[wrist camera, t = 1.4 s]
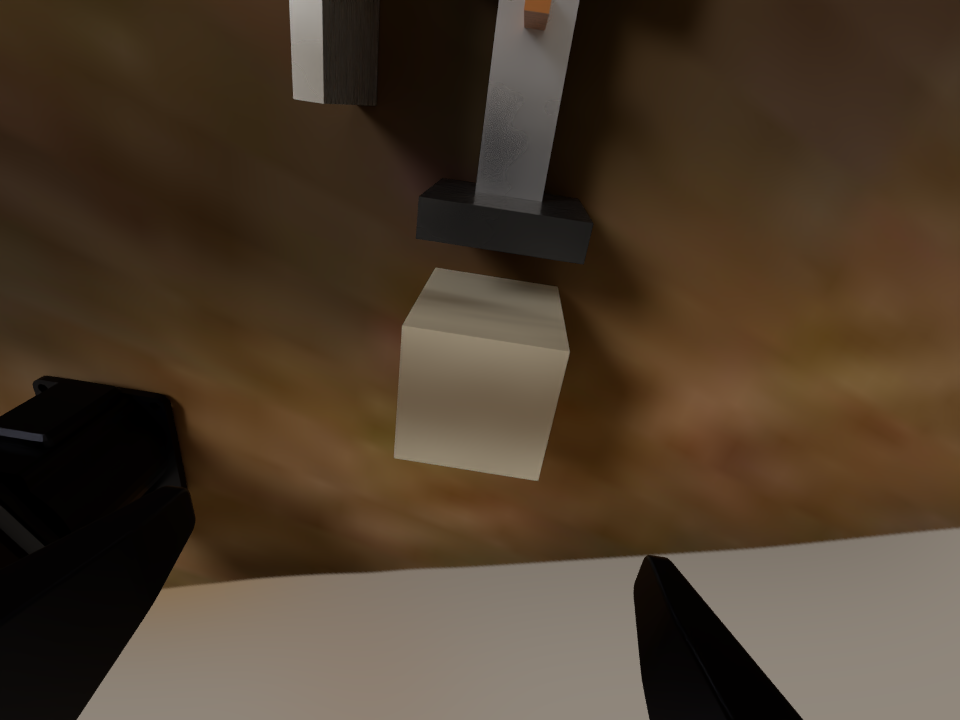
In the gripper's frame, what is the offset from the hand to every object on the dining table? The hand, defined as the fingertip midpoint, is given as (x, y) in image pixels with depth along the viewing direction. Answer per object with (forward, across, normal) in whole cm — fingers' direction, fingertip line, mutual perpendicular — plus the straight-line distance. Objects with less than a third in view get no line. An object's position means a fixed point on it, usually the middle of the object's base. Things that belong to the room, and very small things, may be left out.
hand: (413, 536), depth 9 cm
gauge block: (+12, -1, +1) cm, 12 cm away
